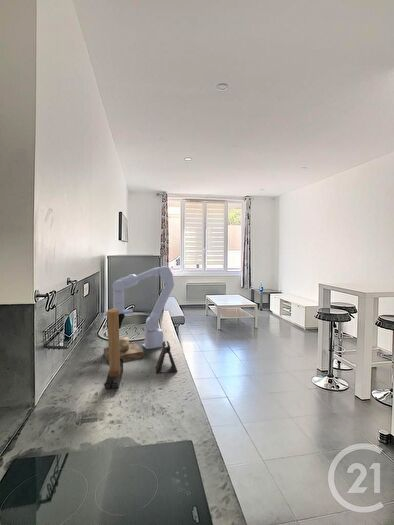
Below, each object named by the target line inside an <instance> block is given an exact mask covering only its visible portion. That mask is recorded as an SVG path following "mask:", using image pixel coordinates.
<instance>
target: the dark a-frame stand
mask: <svg viewBox="0 0 394 525" xmlns="http://www.w3.org/2000/svg"><path fill="white" fill-rule="evenodd" d="M166 354H168V357H169V361H170V366H163V365H164V360H165V356H166ZM155 373H156V374H160V375H161V374H169V373H170V374H171V373H173V374H174V373H178V370H177V365H176V363H175V361H174V358H173V356H172V352H171V345H170V342H169V341H168V340H166V341H165V340H163V343H162V347H161V350H160V354H159V357H158V360H157V362H156V365H155Z"/></svg>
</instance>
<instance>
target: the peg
mask: <svg viewBox="0 0 394 525" xmlns="http://www.w3.org/2000/svg"><path fill="white" fill-rule="evenodd" d="M129 344H130V339H129V337H128V336H127V337H126V336H122V337H119V346H120V351H128V350H129Z"/></svg>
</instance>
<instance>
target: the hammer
mask: <svg viewBox="0 0 394 525" xmlns="http://www.w3.org/2000/svg"><path fill="white" fill-rule="evenodd" d="M106 312H107V316H106V317H107V337H108V338H107V341H108V342H107V343H108V347H109V361H108V363H109V365H108V366H109V369H108V373H107V377H106V381H105V383H103V386H104V388H105V389H119V388H120V384H121V381H122V378H123V373H124V363H125V361H124V360H123V359H121V358H120V346H119V338H120V329H119V316H118V309H113V308H110V309H107V311H106Z"/></svg>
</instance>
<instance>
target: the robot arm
mask: <svg viewBox="0 0 394 525" xmlns="http://www.w3.org/2000/svg"><path fill="white" fill-rule="evenodd" d="M172 272H173V271H172V270H171V269H170V267H169V266H168V265H162V266H161V267H160V266H158V267H153V268H151V269H149V270H146V271H144V272H141V273H139V274H137V275H136V274H134V273H133V274H131V273H130V274H128V276H124V277H120V278H119V279H117V280H115V281H113V283H112V287H111V288H112V289H113V292H112V293H113V294H112V309H118V316H119V330H120V329H122V328H121V327H122V323H123V322H124V319H125V315H128V314H129V315H130V314H132V315H133V314H134V312H133V311H134V310H133V309H132V308H131V309H125V291H124V290H125V289H128V288H130V287H133V286H135V285H138V283H139V281H142V280H145V279H148V278H152V277H160V278H161V279H162V280H163V283H164V286H163V288H162V290H161V292H160V295H159V296H158V298H157V301H156V302H155V305H154V307H153V309H152V311H151V313H150V314H149V316H148V317H147V318H146V320H145V326H144V327H145V328H144V343H142V345H141V346H142V347H144V348H145V349H146V350H151V349H157V348H158V349H159V348H162V343H163V342H164V331H163V330H162V329H161V328H158V321H159V319H160V317H161V315H162V311H163V310H164V308H165V306H166V303H167V301H168V299H169V298H170V295H171V293H172V291H173V289H174V286H175V281H174V275H173V273H172ZM103 314H104V316H105V317H107V311H104V313H103Z"/></svg>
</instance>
